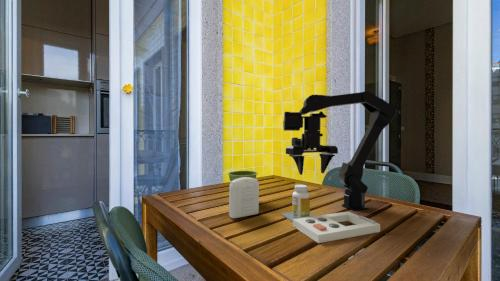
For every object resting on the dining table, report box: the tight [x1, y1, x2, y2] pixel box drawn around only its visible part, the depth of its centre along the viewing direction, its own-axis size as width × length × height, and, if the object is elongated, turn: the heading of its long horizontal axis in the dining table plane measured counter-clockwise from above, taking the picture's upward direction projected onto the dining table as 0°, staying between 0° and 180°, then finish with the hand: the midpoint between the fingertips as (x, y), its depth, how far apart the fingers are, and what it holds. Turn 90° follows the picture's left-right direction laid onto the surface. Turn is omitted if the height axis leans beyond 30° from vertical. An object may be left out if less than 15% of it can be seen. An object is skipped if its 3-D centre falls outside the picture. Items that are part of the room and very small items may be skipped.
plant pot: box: [227, 170, 258, 182], centre depth 98 cm, size 12×12×11 cm
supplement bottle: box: [291, 184, 311, 218], centre depth 79 cm, size 5×5×10 cm
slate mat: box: [280, 211, 315, 223], centre depth 79 cm, size 9×9×1 cm
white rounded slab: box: [228, 177, 260, 219], centre depth 81 cm, size 10×4×12 cm, turn 123°
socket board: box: [292, 211, 381, 244], centre depth 70 cm, size 20×12×3 cm, turn 110°
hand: (311, 173), depth 90 cm, fingers open, 9 cm apart
